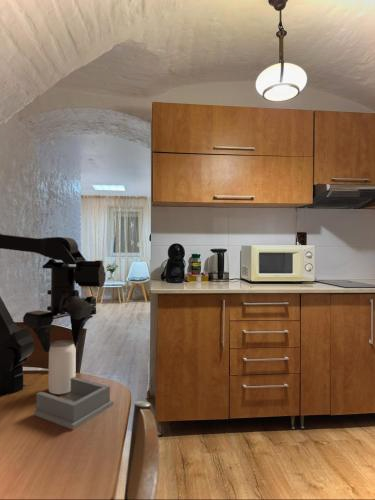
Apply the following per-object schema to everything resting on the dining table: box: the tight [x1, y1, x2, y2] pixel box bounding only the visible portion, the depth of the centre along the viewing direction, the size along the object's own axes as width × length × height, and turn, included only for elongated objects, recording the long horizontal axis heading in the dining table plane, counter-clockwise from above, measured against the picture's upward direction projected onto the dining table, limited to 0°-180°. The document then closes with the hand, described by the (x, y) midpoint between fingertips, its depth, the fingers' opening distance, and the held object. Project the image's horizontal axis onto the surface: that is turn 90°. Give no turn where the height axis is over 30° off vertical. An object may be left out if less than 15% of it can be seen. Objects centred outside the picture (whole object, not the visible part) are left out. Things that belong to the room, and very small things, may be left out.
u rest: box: [33, 376, 114, 431], centre depth 75 cm, size 12×12×4 cm
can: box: [48, 339, 77, 396], centre depth 85 cm, size 6×6×12 cm
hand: (62, 346), depth 85 cm, fingers open, 9 cm apart
